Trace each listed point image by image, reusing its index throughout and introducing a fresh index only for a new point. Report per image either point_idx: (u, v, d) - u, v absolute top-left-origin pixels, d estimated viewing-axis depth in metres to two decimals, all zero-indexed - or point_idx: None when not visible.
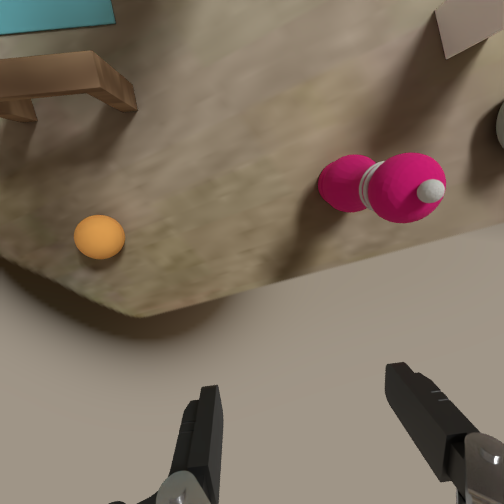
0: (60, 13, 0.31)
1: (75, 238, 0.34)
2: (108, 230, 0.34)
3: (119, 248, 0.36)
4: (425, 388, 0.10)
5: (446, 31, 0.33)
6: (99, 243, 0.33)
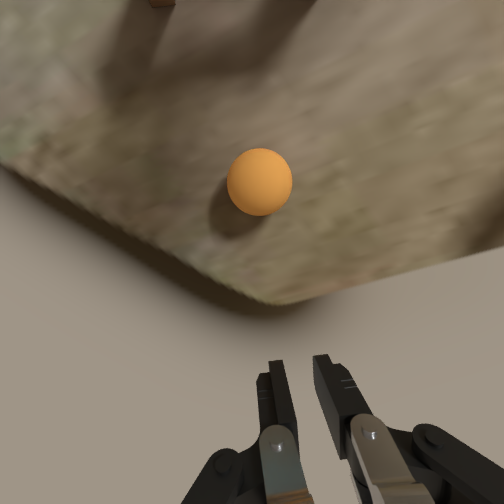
0: None
1: (237, 179, 0.22)
2: (285, 168, 0.22)
3: None
4: (336, 376, 0.12)
5: None
6: (276, 186, 0.22)
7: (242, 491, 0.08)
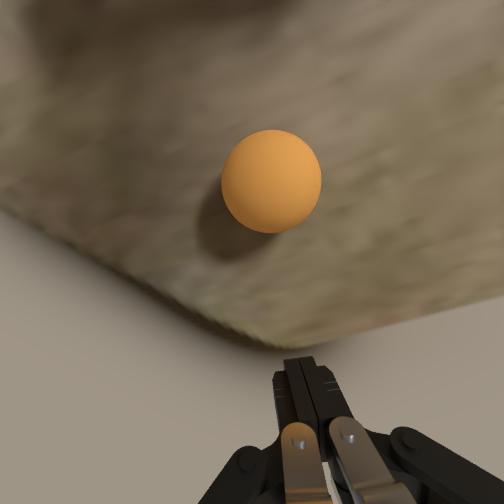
0: None
1: (237, 179, 0.14)
2: (312, 160, 0.14)
3: None
4: (319, 379, 0.11)
5: None
6: (300, 189, 0.14)
7: (265, 491, 0.08)
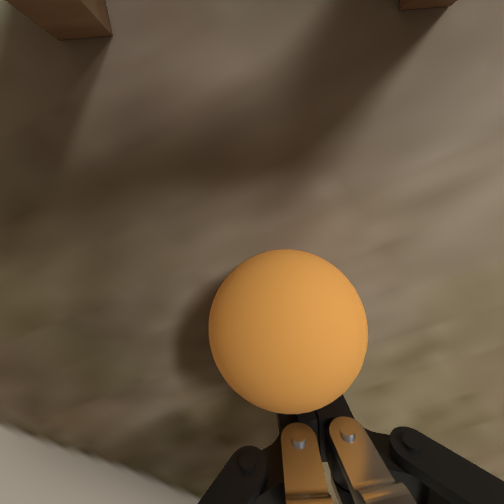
0: None
1: (228, 283, 0.09)
2: (338, 270, 0.10)
3: (363, 356, 0.09)
4: None
5: None
6: (324, 282, 0.08)
7: (265, 491, 0.08)
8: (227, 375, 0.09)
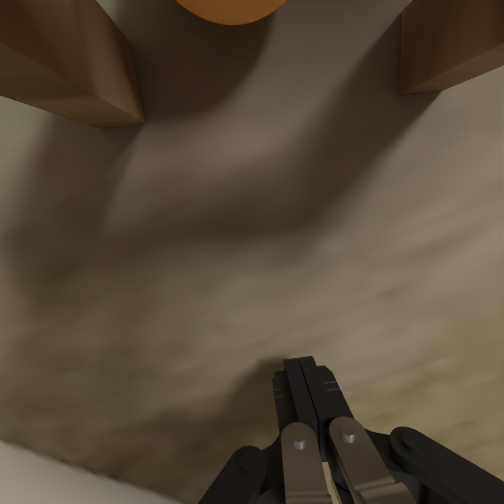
0: None
1: None
2: None
3: None
4: (319, 379, 0.11)
5: None
6: None
7: (265, 491, 0.08)
8: None
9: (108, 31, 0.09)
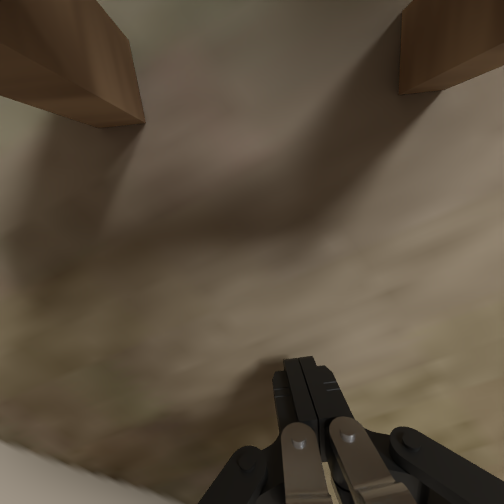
0: None
1: None
2: None
3: None
4: (319, 379, 0.11)
5: None
6: None
7: (265, 491, 0.08)
8: None
9: (108, 31, 0.09)
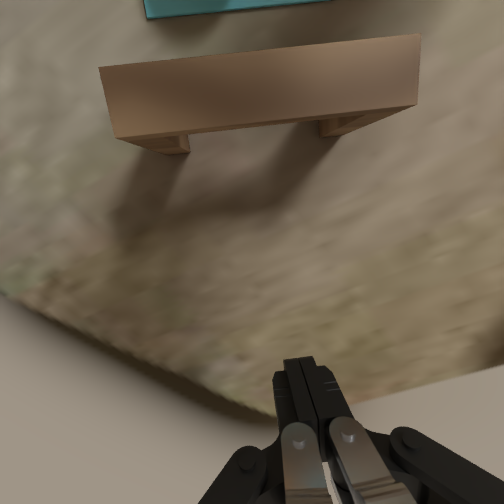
0: None
1: None
2: None
3: None
4: (319, 379, 0.11)
5: None
6: None
7: (265, 491, 0.08)
8: None
9: None
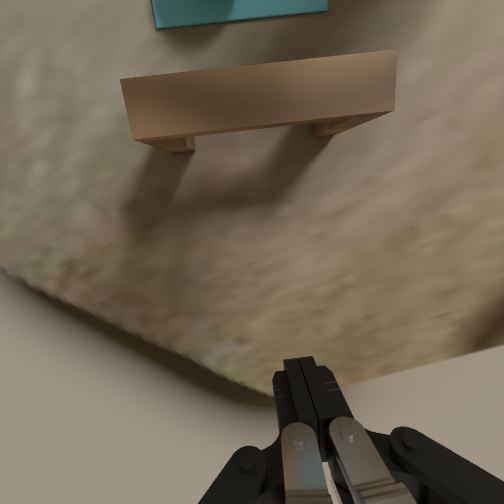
0: None
1: None
2: None
3: None
4: (319, 379, 0.11)
5: None
6: None
7: (265, 491, 0.08)
8: None
9: None
